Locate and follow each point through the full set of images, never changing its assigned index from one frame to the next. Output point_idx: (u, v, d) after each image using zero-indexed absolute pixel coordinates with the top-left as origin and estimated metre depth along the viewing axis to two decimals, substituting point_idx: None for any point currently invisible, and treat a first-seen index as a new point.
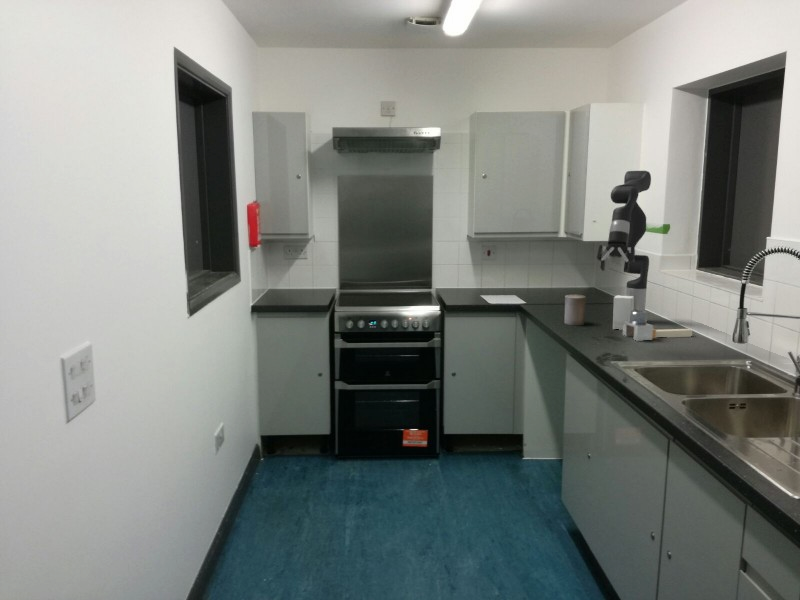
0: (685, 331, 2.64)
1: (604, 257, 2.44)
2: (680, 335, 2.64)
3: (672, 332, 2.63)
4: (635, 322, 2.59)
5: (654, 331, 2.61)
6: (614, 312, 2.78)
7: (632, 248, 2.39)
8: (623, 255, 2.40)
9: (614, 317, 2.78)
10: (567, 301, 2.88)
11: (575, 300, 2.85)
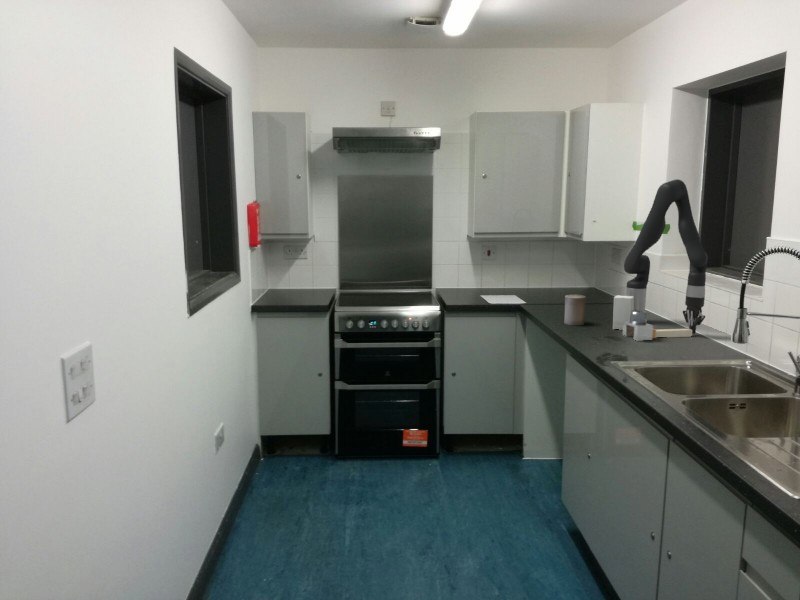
0: (685, 331, 2.64)
1: None
2: (680, 335, 2.64)
3: (672, 332, 2.63)
4: (635, 322, 2.59)
5: (654, 331, 2.61)
6: (614, 312, 2.78)
7: None
8: None
9: (614, 317, 2.78)
10: (567, 301, 2.88)
11: (575, 300, 2.85)
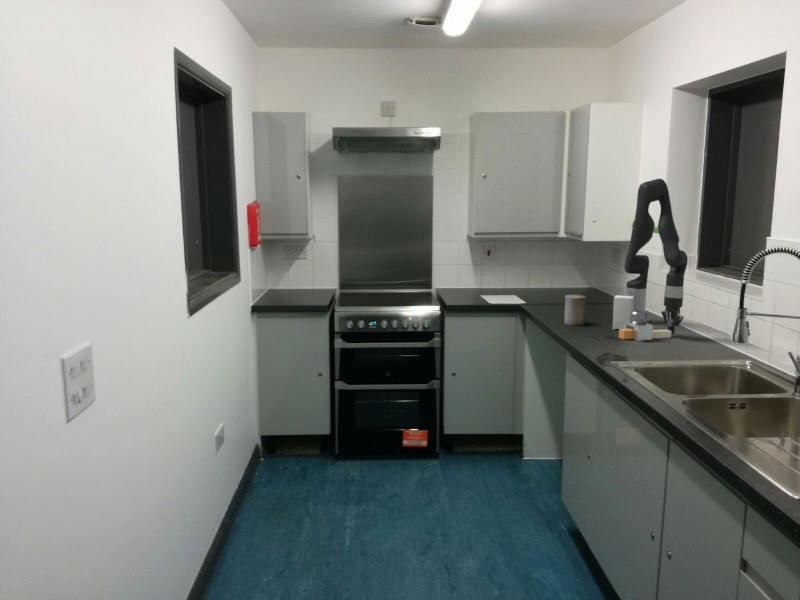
0: (664, 332, 2.62)
1: None
2: (659, 336, 2.62)
3: None
4: (635, 322, 2.59)
5: (633, 332, 2.59)
6: (614, 312, 2.78)
7: None
8: None
9: (614, 317, 2.78)
10: (567, 301, 2.88)
11: (575, 300, 2.85)
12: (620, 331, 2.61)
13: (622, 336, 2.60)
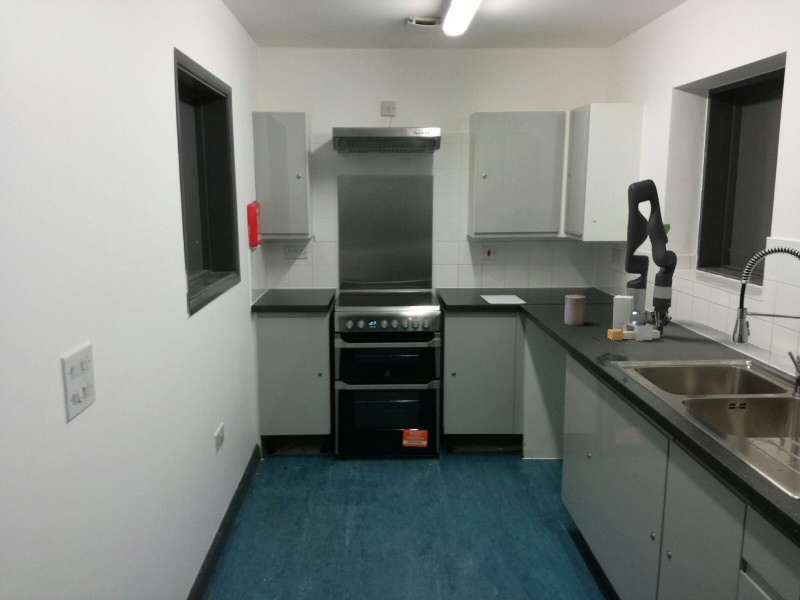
0: (653, 332, 2.61)
1: None
2: None
3: None
4: (635, 322, 2.59)
5: (621, 333, 2.58)
6: (614, 312, 2.78)
7: None
8: None
9: (614, 317, 2.78)
10: (567, 301, 2.88)
11: (575, 300, 2.85)
12: (609, 331, 2.60)
13: (611, 337, 2.58)
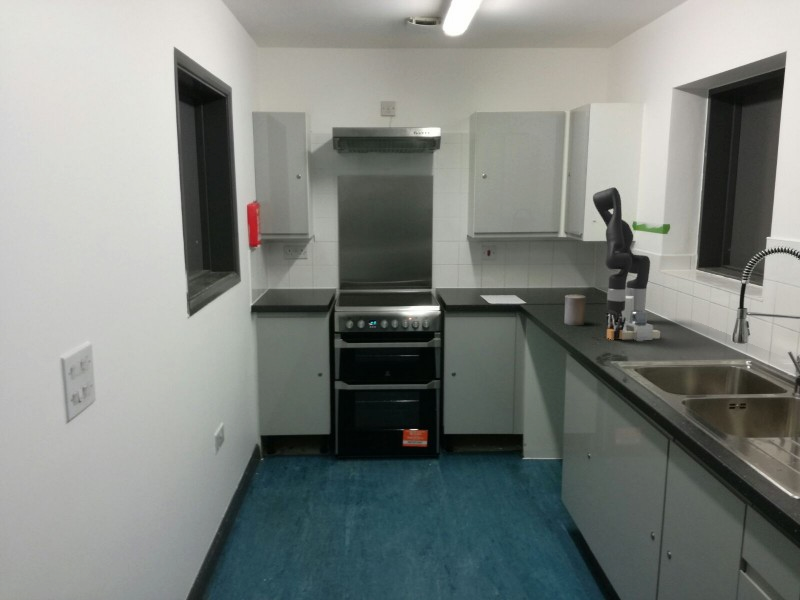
0: (653, 332, 2.61)
1: None
2: None
3: None
4: (635, 322, 2.59)
5: (620, 332, 2.59)
6: None
7: None
8: None
9: None
10: (567, 301, 2.88)
11: (575, 300, 2.85)
12: (608, 331, 2.61)
13: (610, 336, 2.59)
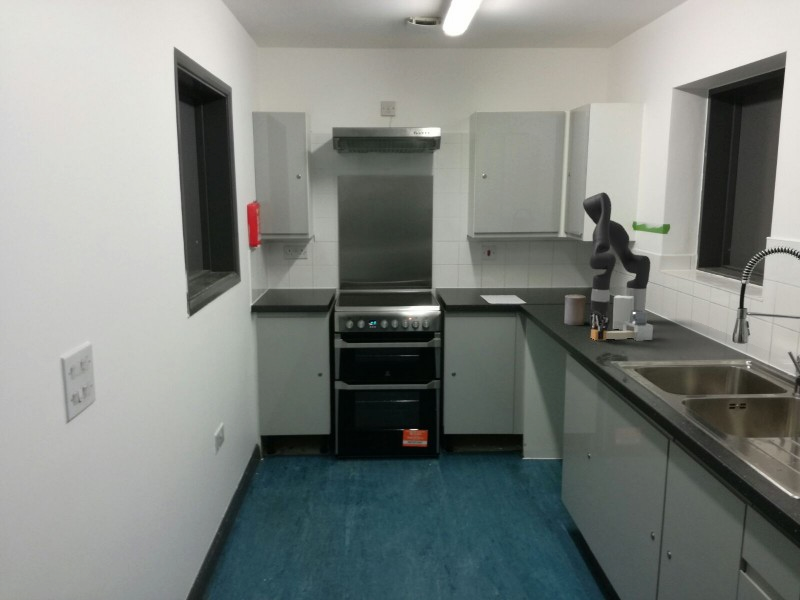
0: None
1: None
2: (631, 337, 2.61)
3: (623, 334, 2.60)
4: (635, 322, 2.59)
5: (605, 333, 2.58)
6: (614, 312, 2.78)
7: None
8: None
9: (614, 317, 2.78)
10: (567, 301, 2.88)
11: (575, 300, 2.85)
12: (592, 332, 2.60)
13: (594, 337, 2.58)
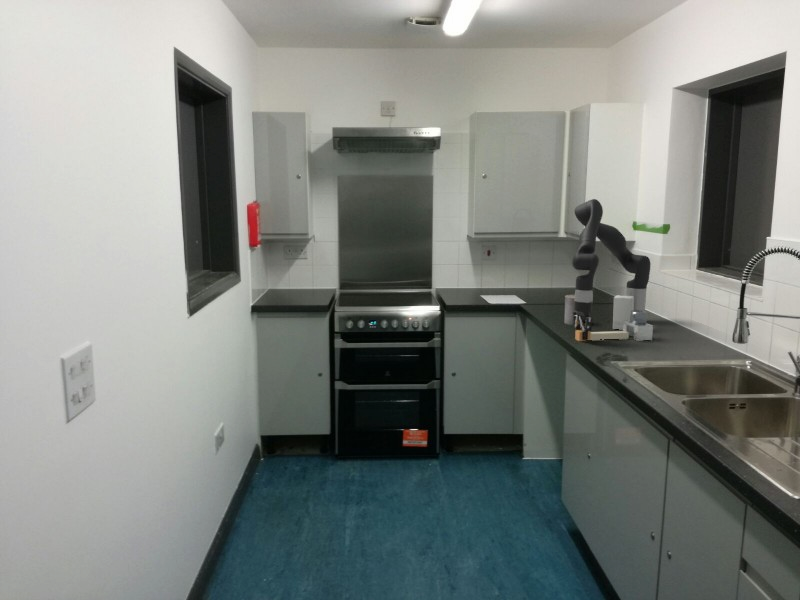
0: (621, 333, 2.60)
1: None
2: (616, 337, 2.60)
3: (608, 334, 2.59)
4: (635, 322, 2.59)
5: (589, 333, 2.57)
6: (614, 312, 2.78)
7: None
8: None
9: (614, 317, 2.78)
10: (567, 301, 2.88)
11: None
12: (576, 332, 2.59)
13: (578, 337, 2.57)
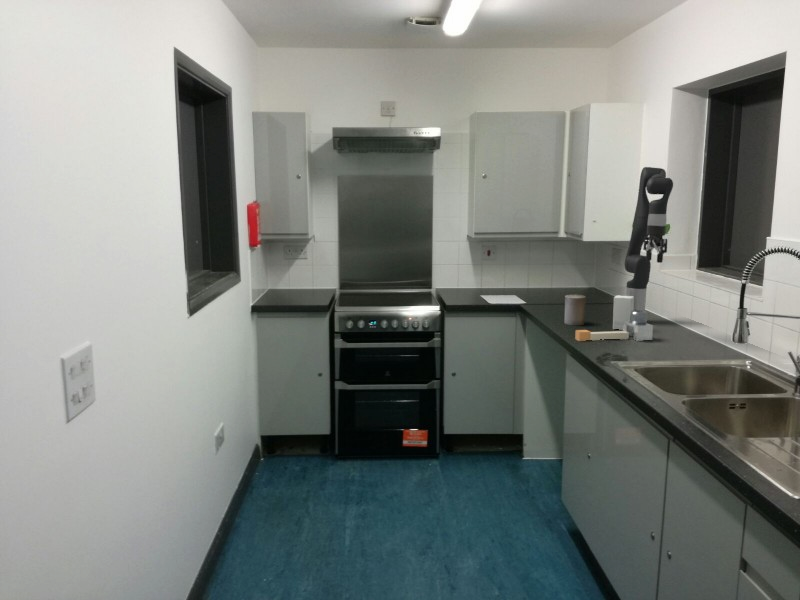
0: (621, 333, 2.60)
1: None
2: (616, 337, 2.59)
3: (608, 334, 2.59)
4: (635, 322, 2.59)
5: (589, 333, 2.57)
6: (614, 312, 2.78)
7: None
8: None
9: (614, 317, 2.78)
10: (567, 301, 2.88)
11: (575, 300, 2.85)
12: (576, 332, 2.59)
13: (578, 337, 2.57)
